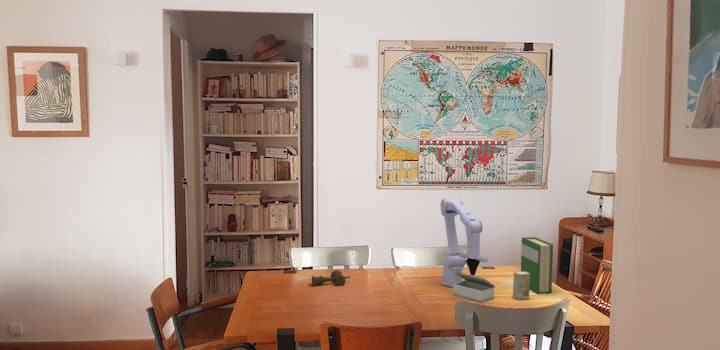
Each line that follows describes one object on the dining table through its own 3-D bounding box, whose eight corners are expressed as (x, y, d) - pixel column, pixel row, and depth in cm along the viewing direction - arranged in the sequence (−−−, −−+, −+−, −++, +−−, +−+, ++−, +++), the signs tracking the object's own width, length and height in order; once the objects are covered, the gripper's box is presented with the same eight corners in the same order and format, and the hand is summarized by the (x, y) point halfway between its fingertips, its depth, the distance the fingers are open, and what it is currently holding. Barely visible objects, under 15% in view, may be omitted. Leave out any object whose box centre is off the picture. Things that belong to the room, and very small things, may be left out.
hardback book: (551, 293, 260) (553, 244, 258) (537, 294, 258) (538, 244, 256) (534, 283, 277) (535, 237, 275) (520, 283, 276) (521, 237, 274)
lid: (454, 273, 258) (454, 271, 258) (465, 280, 264) (465, 278, 264) (483, 280, 246) (484, 278, 246) (494, 287, 252) (494, 285, 252)
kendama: (310, 283, 277) (348, 279, 282) (314, 289, 268) (352, 285, 273) (310, 272, 276) (347, 268, 282) (313, 278, 267) (352, 274, 272)
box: (452, 294, 258) (453, 284, 257) (465, 290, 264) (465, 280, 264) (481, 302, 246) (481, 291, 246) (493, 297, 253) (493, 287, 252)
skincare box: (517, 300, 249) (518, 274, 248) (512, 297, 253) (513, 271, 252) (529, 299, 251) (530, 273, 250) (524, 296, 255) (525, 271, 254)
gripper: (491, 247, 250) (490, 276, 251) (465, 242, 261) (465, 270, 262) (482, 249, 245) (482, 279, 246) (456, 244, 256) (456, 272, 257)
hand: (472, 274), depth 254 cm, fingers closed
